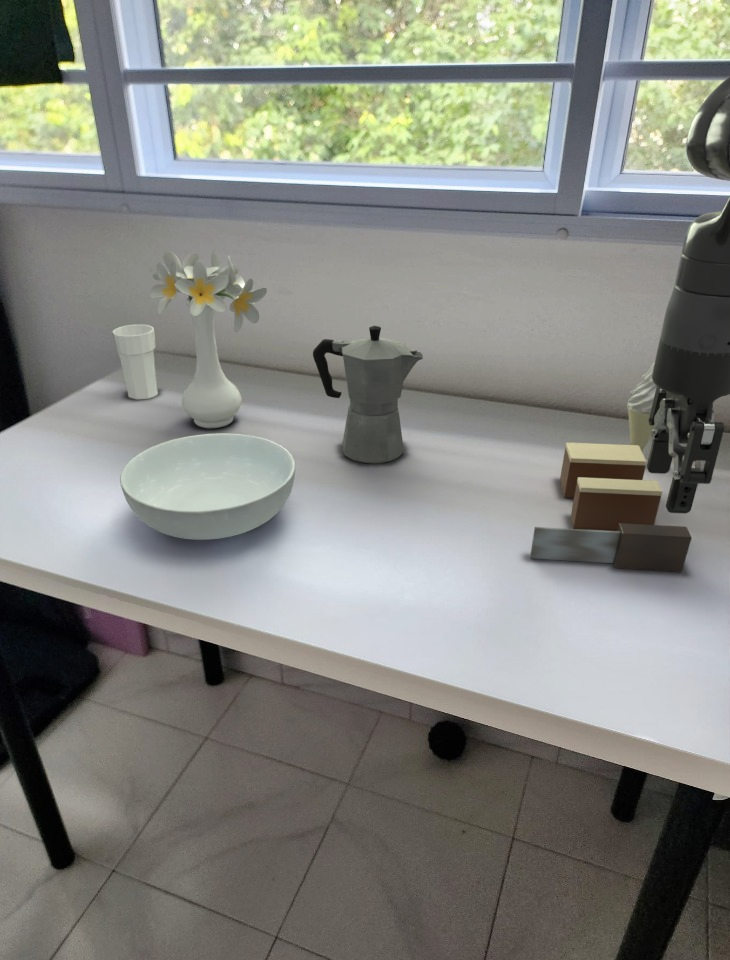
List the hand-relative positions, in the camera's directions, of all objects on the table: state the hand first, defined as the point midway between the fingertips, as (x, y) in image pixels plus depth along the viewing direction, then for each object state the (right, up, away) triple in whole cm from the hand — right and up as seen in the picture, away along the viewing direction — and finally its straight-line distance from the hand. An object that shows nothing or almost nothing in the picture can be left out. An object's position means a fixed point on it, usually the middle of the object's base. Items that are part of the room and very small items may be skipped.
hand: (666, 490), depth 78 cm
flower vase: (-52, +14, +41) cm, 68 cm away
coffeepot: (-30, +8, +31) cm, 44 cm away
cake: (0, +1, +19) cm, 19 cm away
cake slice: (-1, -3, +12) cm, 12 cm away
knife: (-4, -8, +5) cm, 10 cm away
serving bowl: (-49, -2, +16) cm, 52 cm away
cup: (-67, +20, +51) cm, 86 cm away
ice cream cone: (+7, +5, +26) cm, 28 cm away
